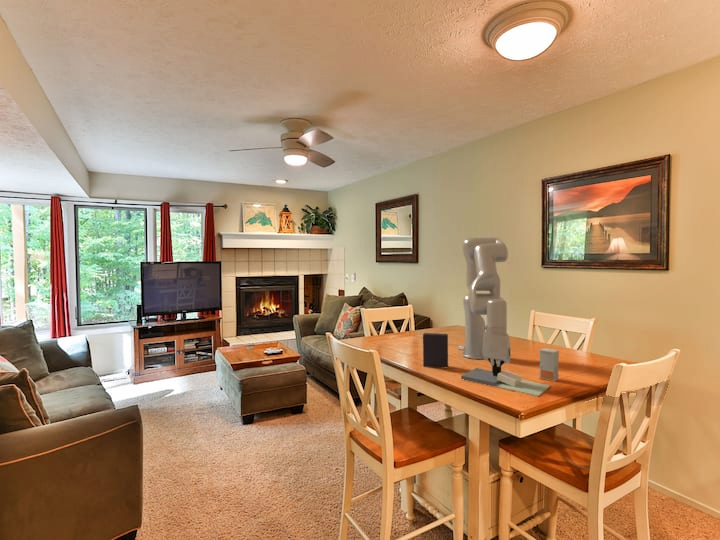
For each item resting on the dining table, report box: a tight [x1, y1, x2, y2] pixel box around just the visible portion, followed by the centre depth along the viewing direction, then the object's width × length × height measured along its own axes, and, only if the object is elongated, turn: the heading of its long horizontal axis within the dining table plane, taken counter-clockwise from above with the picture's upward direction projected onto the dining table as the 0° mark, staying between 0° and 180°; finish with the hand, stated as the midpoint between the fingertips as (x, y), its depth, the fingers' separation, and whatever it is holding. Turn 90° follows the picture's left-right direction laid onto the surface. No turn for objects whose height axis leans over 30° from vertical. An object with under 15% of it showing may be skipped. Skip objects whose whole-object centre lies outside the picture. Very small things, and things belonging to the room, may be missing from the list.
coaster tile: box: [497, 369, 523, 387], centre depth 151 cm, size 7×7×2 cm
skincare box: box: [539, 347, 560, 382], centre depth 156 cm, size 6×4×12 cm
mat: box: [494, 379, 551, 397], centre depth 148 cm, size 16×14×1 cm
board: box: [460, 367, 501, 387], centre depth 158 cm, size 14×14×2 cm
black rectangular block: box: [422, 332, 449, 368], centre depth 177 cm, size 11×4×15 cm, turn 74°
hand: (496, 375), depth 155 cm, fingers closed
